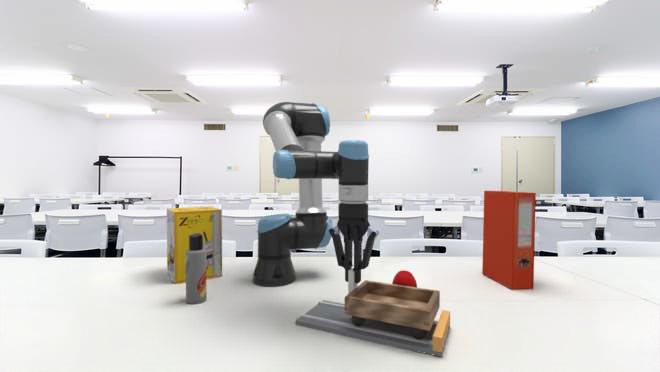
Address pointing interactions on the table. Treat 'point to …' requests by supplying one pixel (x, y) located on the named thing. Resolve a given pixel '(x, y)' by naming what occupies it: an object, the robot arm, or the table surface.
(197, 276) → the lotion bottle
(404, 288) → the tray
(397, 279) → the light bulb
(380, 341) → the track
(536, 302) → the table surface
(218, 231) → the packaging box
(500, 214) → the file binder
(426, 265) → the table surface
